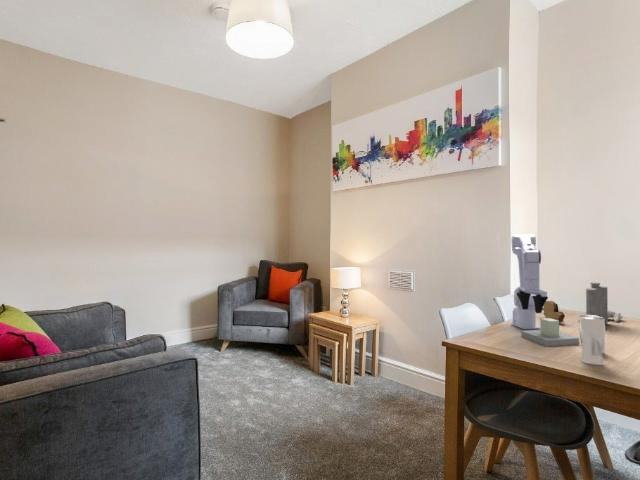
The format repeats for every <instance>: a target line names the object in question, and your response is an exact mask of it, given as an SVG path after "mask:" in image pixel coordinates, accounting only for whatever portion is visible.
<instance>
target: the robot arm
mask: <svg viewBox="0 0 640 480" xmlns="http://www.w3.org/2000/svg"><path fill="white" fill-rule="evenodd" d="M510 239H511V241H510V243H511V250H512V253H513V254H514V255H516V257H517V262H518V274H519V275H518V277H519V286H518V287H517V288H516V289H514V291H513V305H514V306H515V307H514V308H513V310H512V322H511V323H510V325H511V326H513V327H514V326H515V327H517V328H520V329H523V330H540V326H537V325H536V324H537V323H536V322H537V321H536V318H537V317H536V314H542V312H543V310H542V309H543V308H544V303H545V302H546V301H548V298H549V296H548V292H547V291H545V290H543V289H540V264H541V262H542V254H541V250H540V249H537V248H536V244H537V243H536V242H537V240H536V239H537V238H536V235H535V234H512V235H511V238H510Z"/></svg>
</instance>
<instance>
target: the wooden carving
mask: <svg viewBox="0 0 640 480" xmlns="http://www.w3.org/2000/svg"><path fill="white" fill-rule="evenodd" d="M542 312H543V316H544V318H551V319H555V320H559V323H564V319H565V318H566V317H565V313H564V312H563V311H559V305H558V303H556V302H555V301H553V300H546V302H545V303H544V306H543V309H542Z"/></svg>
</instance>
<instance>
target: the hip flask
mask: <svg viewBox="0 0 640 480" xmlns="http://www.w3.org/2000/svg"><path fill="white" fill-rule="evenodd" d="M600 285H601V283H600V282H594V281H593V282H592V281H591V282H590V287H588V288H586V289H585V291H586V292H585V296H586V297H585V299H586V301H585V302H586V303H585V304H586V305H585V308H586V309H585V312H586V313H585V314H586V315H591V316H598V317H602V318H604V322H605V324H607V325H608V324H609V323H608V321H609V320H608V319H609V318H608V310H609V309H608V302H609V301H608V286H600Z"/></svg>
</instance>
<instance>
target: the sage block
mask: <svg viewBox="0 0 640 480" xmlns="http://www.w3.org/2000/svg"><path fill="white" fill-rule="evenodd" d="M539 319H540V324H539V327H540V329H539V330H540V334H544V335H547V336H559V332H560V322H559V320H555V319H551V318H546V317H544V318H539Z"/></svg>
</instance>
